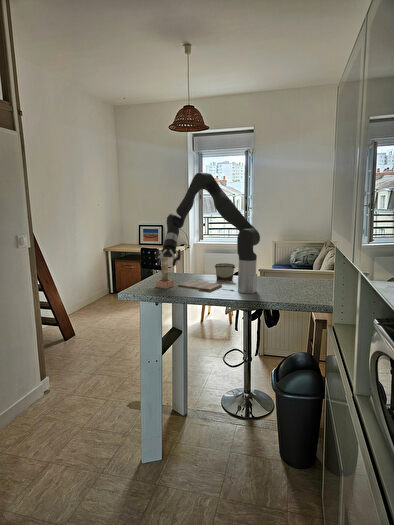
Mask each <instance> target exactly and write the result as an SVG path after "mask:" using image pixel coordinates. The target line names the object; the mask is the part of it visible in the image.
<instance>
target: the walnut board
mask: <svg viewBox="0 0 394 525" xmlns="http://www.w3.org/2000/svg"><path fill="white" fill-rule="evenodd" d="M177 287H179V288H180V287H181V288H186V289H193V290H199V291H201V292H208V293H212V292H213V291H216V290H218V289H220V288H222V287H223V286H222V283H215V282H208V281H199V280H193V279H192V280H191V279H190V280H187V281H184V282H182V283H178V284H177Z"/></svg>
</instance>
